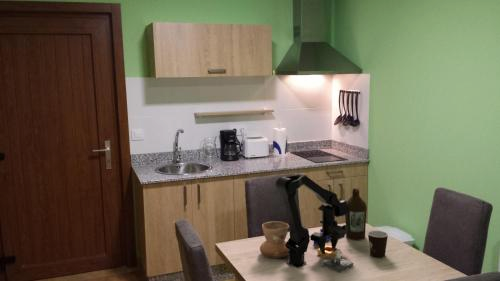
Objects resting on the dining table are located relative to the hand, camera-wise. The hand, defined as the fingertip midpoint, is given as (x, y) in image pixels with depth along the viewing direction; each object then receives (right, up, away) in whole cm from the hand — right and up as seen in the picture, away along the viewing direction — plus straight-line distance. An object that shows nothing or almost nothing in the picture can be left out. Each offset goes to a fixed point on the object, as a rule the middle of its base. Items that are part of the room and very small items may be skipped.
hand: (328, 251), depth 206 cm
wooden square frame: (0, -1, 0) cm, 1 cm away
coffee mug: (+22, -1, -1) cm, 22 cm away
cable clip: (-1, +1, +17) cm, 17 cm away
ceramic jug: (-24, -2, +2) cm, 24 cm away
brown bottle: (+17, +2, +21) cm, 27 cm away
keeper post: (+2, -3, -13) cm, 13 cm away
